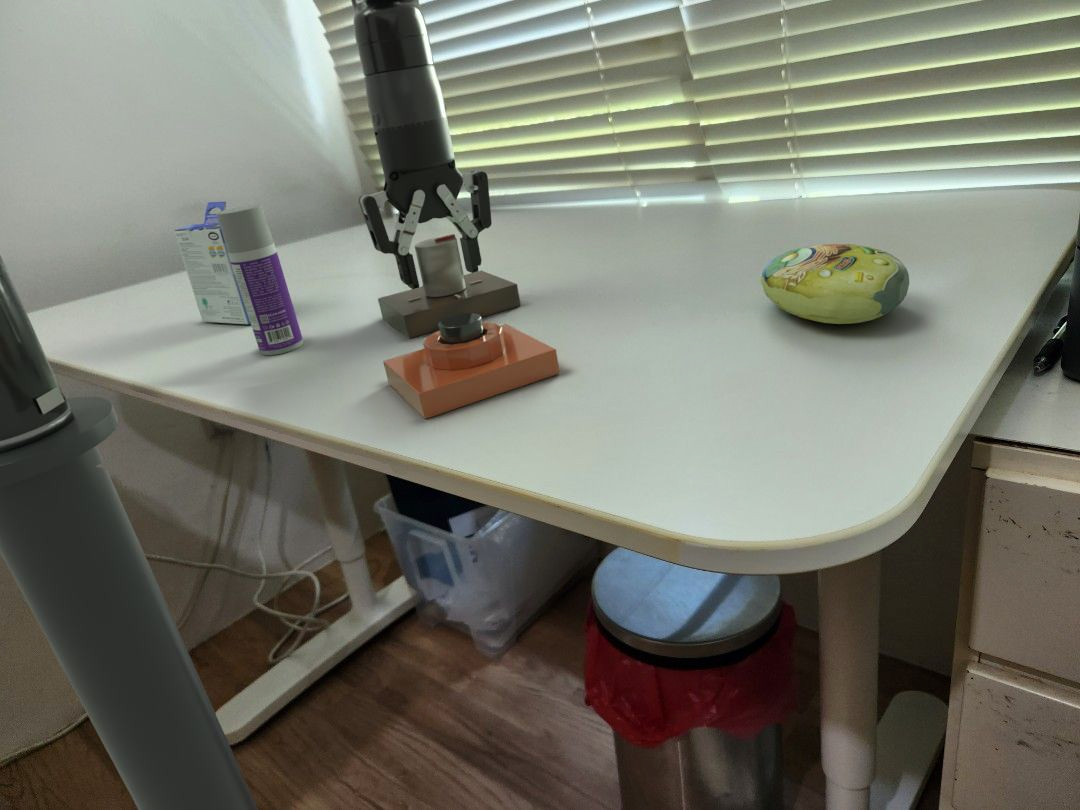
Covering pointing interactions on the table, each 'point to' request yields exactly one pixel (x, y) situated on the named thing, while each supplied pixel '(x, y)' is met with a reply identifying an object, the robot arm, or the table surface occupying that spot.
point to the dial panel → (448, 304)
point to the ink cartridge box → (211, 270)
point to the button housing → (469, 369)
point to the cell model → (836, 283)
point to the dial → (440, 266)
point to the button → (461, 328)
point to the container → (260, 279)
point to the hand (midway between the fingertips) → (443, 278)
